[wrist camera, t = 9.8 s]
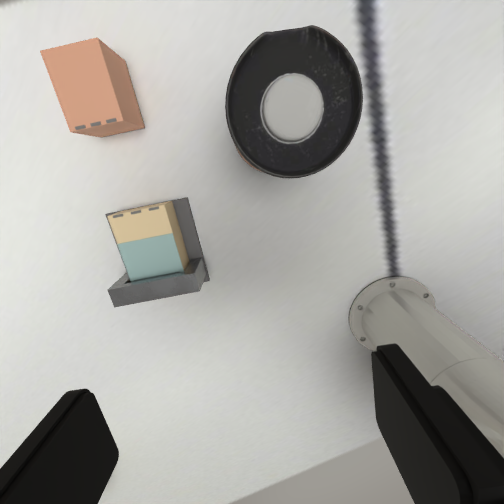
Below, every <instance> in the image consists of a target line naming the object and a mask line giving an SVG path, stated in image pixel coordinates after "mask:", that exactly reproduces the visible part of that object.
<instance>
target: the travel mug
mask: <svg viewBox="0 0 504 504" xmlns="http://www.w3.org/2000/svg"><path fill="white" fill-rule="evenodd" d="M362 103H363V93H362V84H361V78H360V75H359V71H358V68H357V66H356V64H355V62H354V59H353V58H352V56H351V55H350V53H349V51H348V50H347V49H346V48H345V46H344V45H343V44H342V43H341V42H340V41H339V40H338V39H337V38H335V37H334V36H333V35H331V34H330V33H329V32H327V31H325V30H324V29H322V28H320V27H317V26H313V25H311V26H307V27H303V28H296V29H288V30H282V31H275V32H264V33H262V34H261V35H259V36H258V37H257V38H256V39H255V40H254V41H253V42H252V43H251V44H250V45H249V46H248V47H247V48H246V49H245V51H244V52H243V53H242V55H241V56H240V58H239V59H238V61H237V63H236V65H235V66H234V69H233V71H232V74H231V76H230V79H229V83H228V86H227V92H226V106H225V108H226V119H227V124H228V128H229V131H230V134H231V137H232V139H233V141H234V143H235V146H236V148H237V150H238V152H239V154H240V155H241V157H242V158H243V159H244V161H245V162H246V163H248V164H249V165H250V166H251V167H253V168H255V169H256V170H259V171H261V172H264V173H267V174H269V175H272V176H276V177H280V178H300V177H305V176H309V175H312V174H315V173H317V172H319V171H321V170H323V169H324V168H326V167H327V166H329V165H330V164H332V163H333V162H334V161H335V160H336V159H337V158H338V157H339V156H340V155H341V154H342V153H343V152H344V151H345V149H346V148H347V147H348V145H349V144H350V142H351V140H352V138H353V137H354V134H355V132H356V130H357V127H358V124H359V121H360V117H361V112H362Z"/></svg>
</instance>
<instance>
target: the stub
mask: <svg viewBox="0 0 504 504" xmlns="http://www.w3.org/2000/svg"><path fill="white" fill-rule="evenodd" d="M40 52H41V55H42V57H43V60H44V63H45V65H46V68H47V71H48V73H49V76H50V79H51V81H52V84H53V87H54V89H55V92H56V95H57V97H58V100H59V103H60V105H61V108H62V111H63V113H64V116H65V119H66V121H67V124H68V127H69V129H70V132H73V133H79V134H84V135H90V136H96V137H105V136H110V135H114V134H119V133H124V132H128V131H133V130H137V129H142V128H145V127H144V123H143V120H142V117H141V113H140V110H139V106H138V103H137V100H136V96H135V93H134V89H133V86H132V83H131V79H130V76H129V72H128V69H127V66H126V62H125V60H123V59H122V58H121V57H120V56H119V55H117V54H116V53H115V52H114V51H113V50H111V49H110V48H109V47H108V46H107V45H106V44H104V43H103V42H102V41H101V40H100V39H98V38H93V39H89V40H85V41H80V42H76V43H72V44H68V45H63V46H59V47H55V48H50V49H46V50H42V51H40Z"/></svg>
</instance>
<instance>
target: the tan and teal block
mask: <svg viewBox="0 0 504 504" xmlns="http://www.w3.org/2000/svg"><path fill="white" fill-rule="evenodd" d="M107 217H108V220H109V223H110V225H111V228H112V231H113V233H114V236H115V239H116V242H117V246H118V248H119V251H120V254H121V256H122V259H123V262H124V264H125V267H126V270H127V273H128V275H129V278H130V281H131V283H132V282H133V281H134V280H138V279H144V278H149V277H154V276H159V275H164V274H169V273H175V272H180V273H183V272H184V271H185V269H186V267H187V265H188V264H189V258H188V255H187V251H186V248H185V244H184V241H183V237H182V234H181V230H180V227H179V223H178V220H177V217H176V213H175V210H174V206H173V203H172V201H168V202H163V203H159V204H154V205H149V206H144V207H139V208H134V209H129V210H124V211H120V212H117V213H115V214H112V215H109V216H107Z"/></svg>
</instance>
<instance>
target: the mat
mask: <svg viewBox="0 0 504 504" xmlns="http://www.w3.org/2000/svg"><path fill="white" fill-rule="evenodd" d="M167 202H168V201H167ZM162 203H163V202H162ZM172 203H173V206H174V210H175V213H176V217H177V220H178V223H179V227H180V230H181V234H182V237H183V241H184V244H185V248H186V251H187V255H188V258H189V262H190V260H191V259H195V258H200V257H202V258H203V262H204V266H205V269H206V275H205V278H204V281H203V282H206V281H209V276H208V272H207V268H206V265H205V261H204V257H203V254H202V250H201V246H200V242H199V239H198V235H197V231H196V228H195V224H194V220H193V216H192V213H191V209H190V205H189V202H188V198H182V199H177V200H172ZM158 204H159V203H158ZM153 205H154V204H153ZM148 206H149V205H148ZM143 207H144V206H143ZM138 208H139V207H138ZM133 209H134V208H133ZM128 210H129V209H128ZM123 211H124V210H123ZM119 212H120V211H119ZM115 213H117V212H114V213H109V214H106V217H107V216H109V215H112V214H115ZM107 220H108V217H107ZM108 222H109V220H108ZM109 225H110V223H109ZM110 228H111V225H110ZM111 231H112V228H111ZM112 233H113V231H112ZM113 236H114V233H113ZM114 239H115V236H114ZM115 241H116V239H115ZM116 244H117V242H116ZM117 247H118V246H117ZM118 249H119V248H118ZM119 252H120V251H119ZM120 255H121V254H120ZM121 258H122V256H121ZM122 260H123V259H122ZM123 263H124V262H123ZM124 266H125V264H124ZM125 268H126V267H125ZM126 271H127V270H126Z"/></svg>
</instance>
